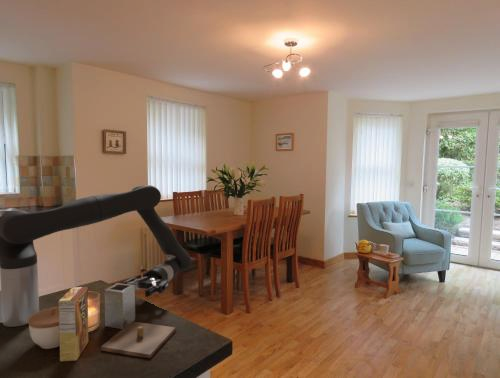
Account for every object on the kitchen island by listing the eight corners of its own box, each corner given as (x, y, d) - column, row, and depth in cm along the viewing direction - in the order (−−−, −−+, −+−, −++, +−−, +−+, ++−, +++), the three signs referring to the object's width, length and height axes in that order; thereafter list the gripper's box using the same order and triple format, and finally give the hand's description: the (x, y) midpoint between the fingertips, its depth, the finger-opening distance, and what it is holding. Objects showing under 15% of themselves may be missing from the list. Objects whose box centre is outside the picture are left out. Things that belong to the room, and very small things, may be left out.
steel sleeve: (105, 326, 98) (104, 290, 97) (117, 317, 104) (117, 282, 103) (123, 329, 96) (122, 292, 95) (135, 319, 102) (134, 284, 101)
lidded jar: (69, 328, 96) (68, 297, 96) (81, 342, 89) (80, 309, 88) (25, 342, 89) (23, 308, 88) (34, 359, 81) (33, 322, 81)
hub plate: (101, 350, 85) (100, 337, 85) (132, 324, 99) (132, 313, 99) (150, 358, 82) (149, 344, 82) (175, 330, 96) (175, 319, 95)
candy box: (72, 342, 89) (71, 287, 88) (89, 341, 90) (88, 286, 88) (59, 362, 80) (57, 300, 79) (78, 360, 81) (76, 299, 80)
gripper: (141, 264, 124) (114, 279, 108) (177, 267, 121) (154, 283, 105) (142, 284, 124) (114, 301, 109) (177, 288, 121) (154, 306, 105)
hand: (134, 292), depth 107 cm, fingers open, 8 cm apart
